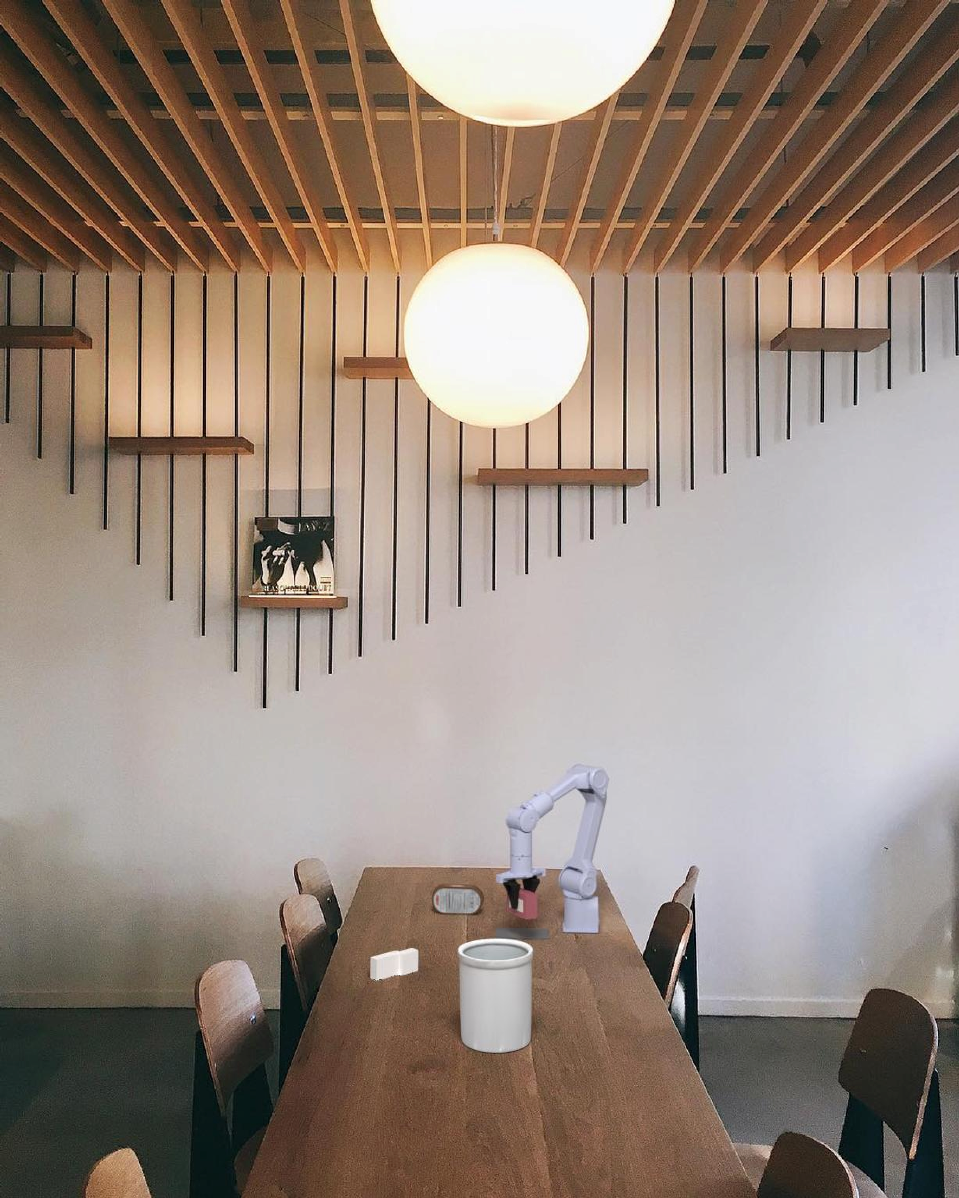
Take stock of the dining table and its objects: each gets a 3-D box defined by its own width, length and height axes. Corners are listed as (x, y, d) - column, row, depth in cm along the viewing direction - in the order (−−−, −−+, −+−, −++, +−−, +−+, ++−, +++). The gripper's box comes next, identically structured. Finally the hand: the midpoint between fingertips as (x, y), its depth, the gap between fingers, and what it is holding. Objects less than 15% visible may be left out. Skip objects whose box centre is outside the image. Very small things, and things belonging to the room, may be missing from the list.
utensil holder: (446, 1030, 195) (446, 942, 196) (513, 1019, 201) (513, 933, 202) (475, 1060, 181) (475, 964, 182) (546, 1047, 187) (546, 954, 188)
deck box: (517, 909, 258) (517, 886, 258) (537, 917, 250) (537, 894, 251) (506, 911, 256) (506, 888, 256) (525, 919, 249) (525, 896, 249)
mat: (548, 930, 263) (548, 928, 263) (547, 939, 255) (547, 937, 255) (496, 928, 264) (496, 927, 264) (494, 937, 256) (494, 936, 256)
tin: (484, 913, 280) (484, 883, 280) (483, 916, 277) (483, 886, 277) (432, 911, 281) (432, 882, 282) (430, 914, 278) (430, 884, 279)
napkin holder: (364, 986, 222) (364, 960, 222) (365, 969, 233) (365, 945, 233) (430, 984, 223) (430, 959, 223) (428, 967, 234) (428, 943, 234)
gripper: (506, 860, 247) (506, 915, 246) (552, 854, 255) (552, 906, 254) (491, 855, 253) (491, 908, 252) (536, 849, 261) (537, 900, 260)
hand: (521, 907), depth 254 cm, fingers closed on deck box, 4 cm apart
